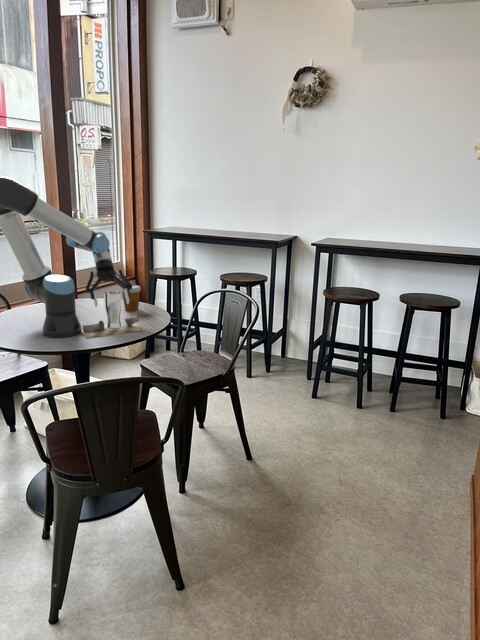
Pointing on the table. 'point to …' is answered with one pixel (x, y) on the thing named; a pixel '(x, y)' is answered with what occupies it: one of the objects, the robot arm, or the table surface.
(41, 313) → the table surface
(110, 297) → the beer glass
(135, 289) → the disposable coffee cup
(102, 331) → the shaft cradle
